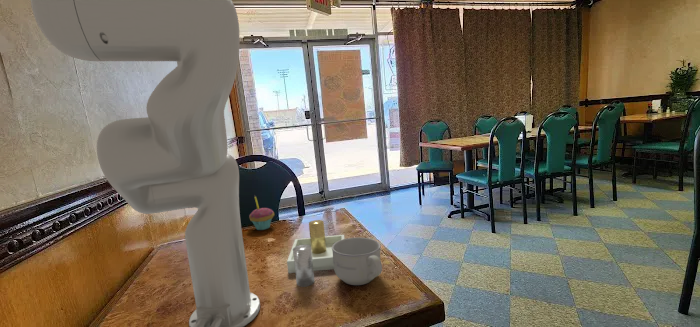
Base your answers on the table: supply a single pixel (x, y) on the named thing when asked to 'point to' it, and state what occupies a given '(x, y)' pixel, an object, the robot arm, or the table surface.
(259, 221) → the cupcake
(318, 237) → the brass roller
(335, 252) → the teacup
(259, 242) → the table surface
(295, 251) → the steel roller
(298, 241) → the tray
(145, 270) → the table surface
